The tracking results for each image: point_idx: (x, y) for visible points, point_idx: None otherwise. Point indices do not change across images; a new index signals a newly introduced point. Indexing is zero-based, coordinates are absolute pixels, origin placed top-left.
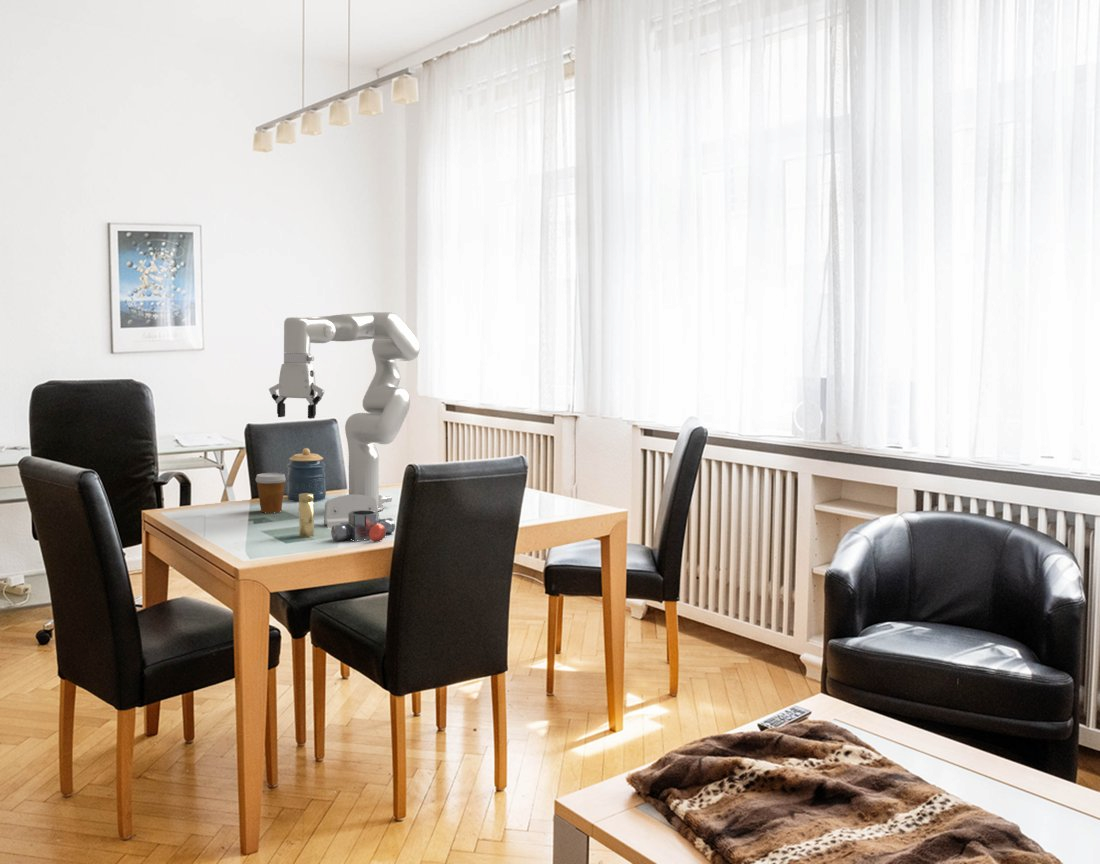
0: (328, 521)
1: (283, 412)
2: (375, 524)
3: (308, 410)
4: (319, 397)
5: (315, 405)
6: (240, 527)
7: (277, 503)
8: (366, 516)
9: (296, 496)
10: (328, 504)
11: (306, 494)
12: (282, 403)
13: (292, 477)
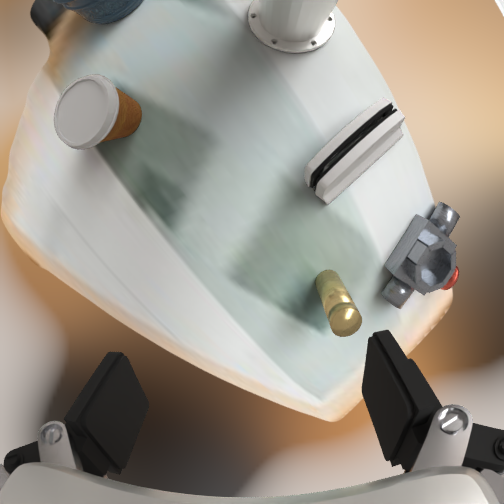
0: (329, 201)
1: (123, 391)
2: (452, 285)
3: (381, 432)
4: (501, 466)
5: (442, 416)
6: (172, 266)
7: (133, 120)
8: (444, 284)
9: (108, 19)
10: (327, 188)
11: (348, 324)
12: (97, 449)
13: (81, 9)
